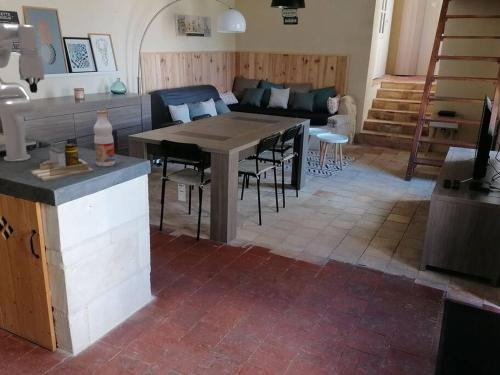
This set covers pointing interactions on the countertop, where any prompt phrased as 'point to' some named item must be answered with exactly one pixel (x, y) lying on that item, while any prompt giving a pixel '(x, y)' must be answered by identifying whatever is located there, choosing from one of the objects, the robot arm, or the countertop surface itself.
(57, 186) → the countertop surface
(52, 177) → the wooden tray
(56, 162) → the grey flat block
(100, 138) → the fruit juice
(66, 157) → the condiment
